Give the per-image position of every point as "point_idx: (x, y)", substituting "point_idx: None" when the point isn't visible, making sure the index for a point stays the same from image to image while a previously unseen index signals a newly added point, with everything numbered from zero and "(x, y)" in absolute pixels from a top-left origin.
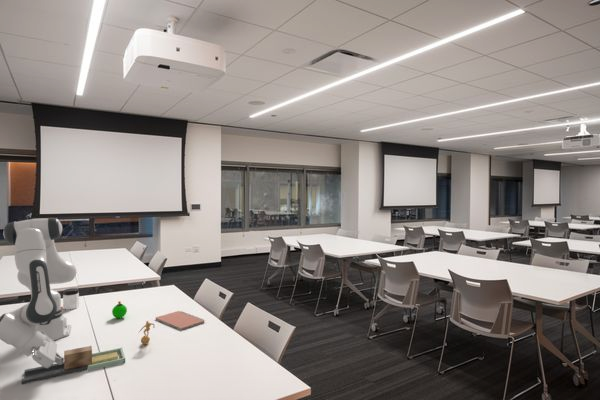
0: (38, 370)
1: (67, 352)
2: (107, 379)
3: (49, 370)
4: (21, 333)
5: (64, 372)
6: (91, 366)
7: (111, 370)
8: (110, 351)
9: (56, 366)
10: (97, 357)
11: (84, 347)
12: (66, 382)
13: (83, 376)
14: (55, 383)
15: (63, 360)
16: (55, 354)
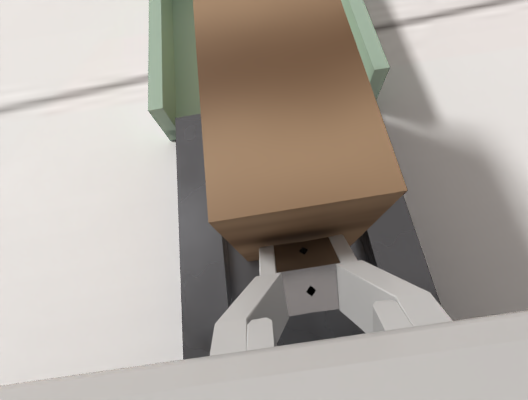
0: None
1: (297, 166)
2: (485, 6)
3: None
4: None
5: (409, 229)
6: (382, 55)
7: (370, 7)
8: (163, 1)
9: None
10: None
11: (209, 16)
12: (483, 210)
13: (410, 124)
14: (486, 288)
15: (327, 237)
16: (501, 320)
